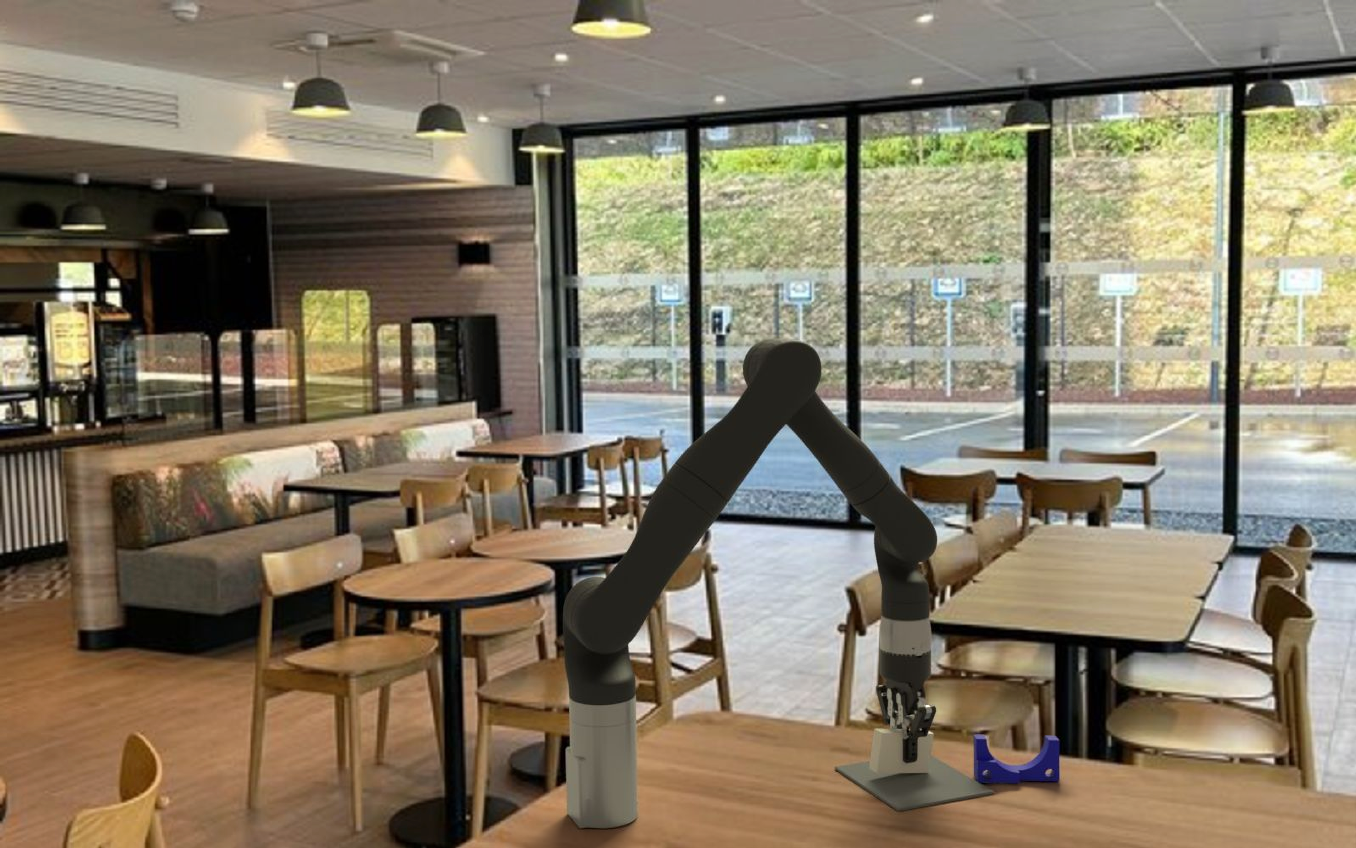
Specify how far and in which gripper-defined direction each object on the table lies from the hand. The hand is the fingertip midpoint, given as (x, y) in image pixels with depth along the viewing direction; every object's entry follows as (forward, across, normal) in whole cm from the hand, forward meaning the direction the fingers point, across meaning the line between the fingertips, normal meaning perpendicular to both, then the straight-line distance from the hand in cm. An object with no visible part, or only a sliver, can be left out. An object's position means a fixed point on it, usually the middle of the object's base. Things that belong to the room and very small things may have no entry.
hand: (905, 758), depth 197 cm
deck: (+2, 0, -1) cm, 2 cm away
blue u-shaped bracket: (+3, +8, +14) cm, 17 cm away
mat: (+3, +2, 0) cm, 3 cm away
